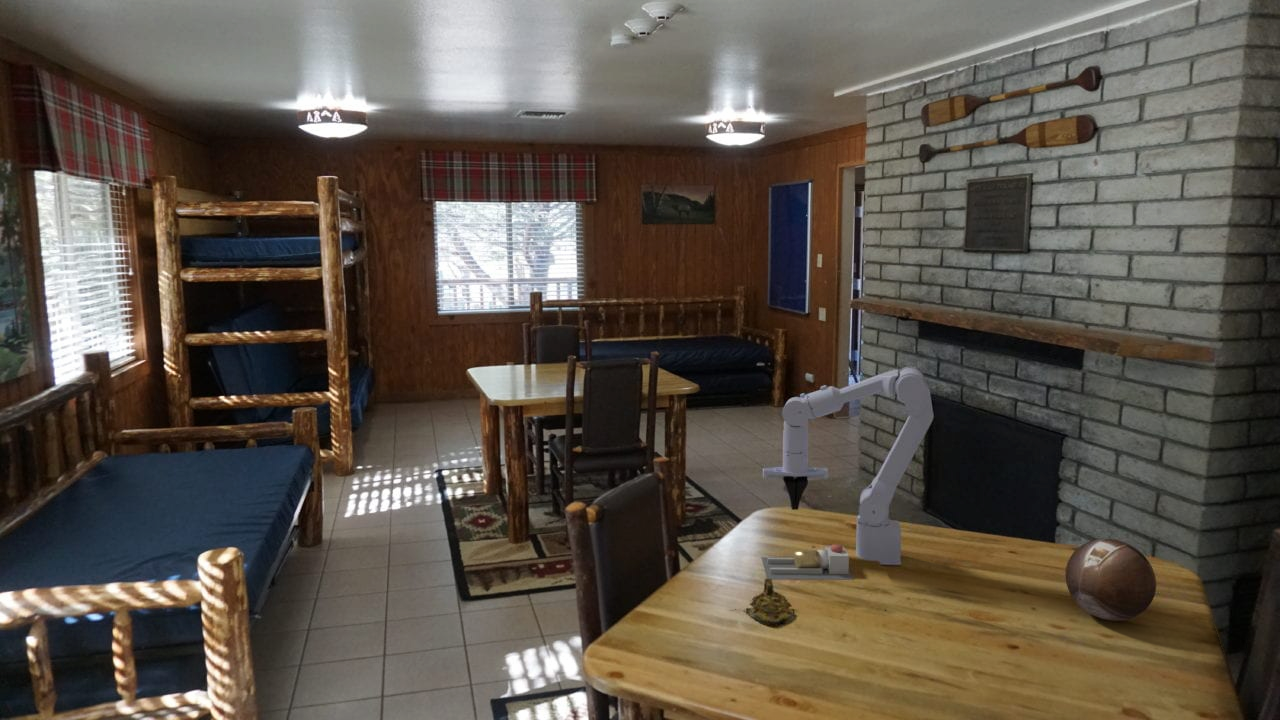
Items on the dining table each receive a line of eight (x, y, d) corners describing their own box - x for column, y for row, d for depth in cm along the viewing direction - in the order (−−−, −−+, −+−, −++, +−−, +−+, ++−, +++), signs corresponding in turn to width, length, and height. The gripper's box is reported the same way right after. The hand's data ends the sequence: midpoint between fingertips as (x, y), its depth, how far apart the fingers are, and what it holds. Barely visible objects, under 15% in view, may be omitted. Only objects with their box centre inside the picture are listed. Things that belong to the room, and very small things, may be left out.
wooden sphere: (1051, 617, 162) (1056, 542, 159) (1078, 593, 172) (1083, 522, 170) (1139, 643, 151) (1146, 563, 149) (1162, 615, 162) (1169, 540, 159)
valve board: (842, 562, 189) (843, 536, 188) (853, 584, 178) (854, 556, 177) (761, 561, 190) (761, 535, 189) (767, 583, 178) (767, 556, 177)
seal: (798, 634, 159) (788, 599, 174) (802, 610, 158) (791, 577, 173) (749, 628, 159) (742, 594, 174) (752, 605, 158) (745, 572, 173)
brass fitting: (815, 562, 185) (816, 547, 184) (818, 573, 182) (819, 557, 180) (792, 562, 186) (793, 546, 184) (795, 573, 182) (796, 557, 180)
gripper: (824, 446, 196) (823, 502, 198) (761, 446, 196) (761, 502, 198) (830, 454, 189) (828, 512, 191) (764, 454, 189) (764, 512, 191)
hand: (794, 508), depth 194 cm, fingers closed
